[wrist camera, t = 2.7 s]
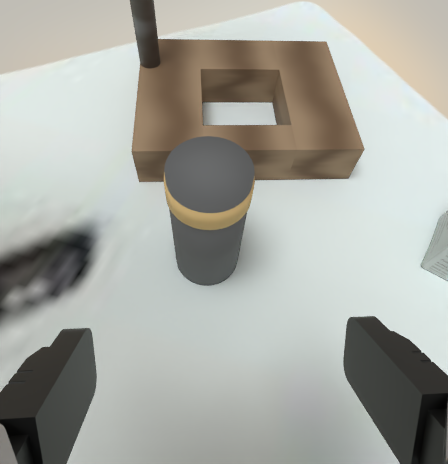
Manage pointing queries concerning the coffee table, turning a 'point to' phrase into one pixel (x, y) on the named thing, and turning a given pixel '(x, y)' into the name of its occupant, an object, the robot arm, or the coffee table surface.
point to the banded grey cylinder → (208, 205)
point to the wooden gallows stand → (242, 90)
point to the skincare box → (438, 250)
